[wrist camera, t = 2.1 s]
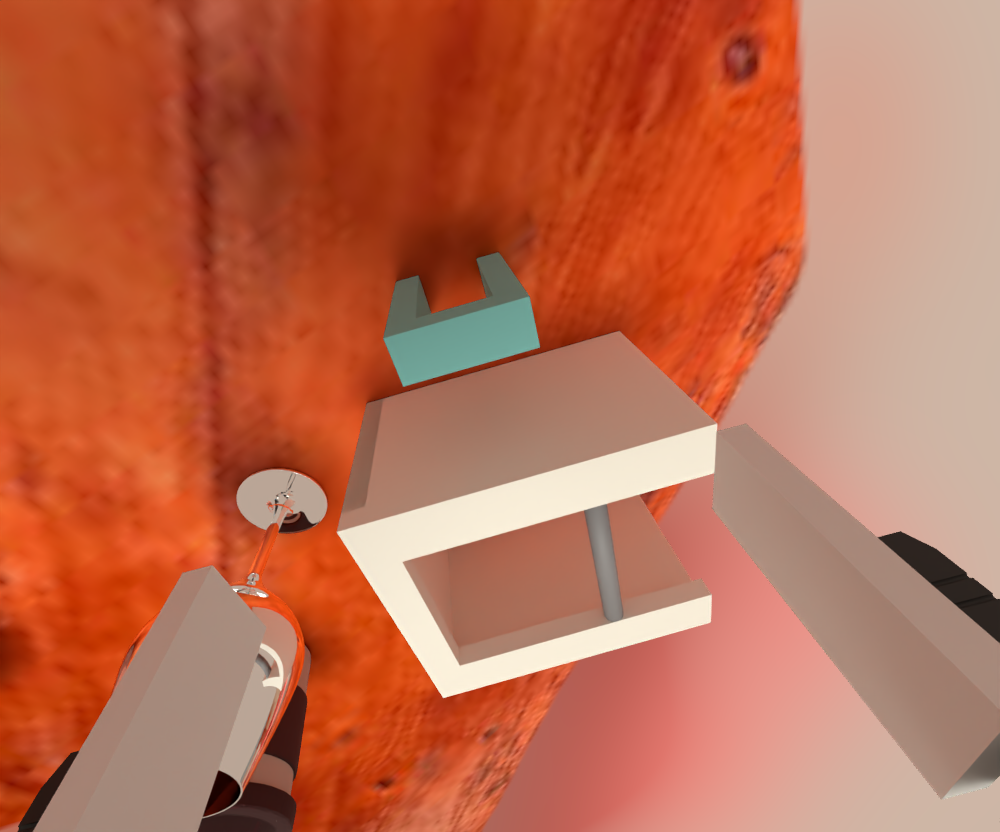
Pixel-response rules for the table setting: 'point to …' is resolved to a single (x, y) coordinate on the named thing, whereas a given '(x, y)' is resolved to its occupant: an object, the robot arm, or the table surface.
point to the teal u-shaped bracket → (459, 326)
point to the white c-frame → (527, 511)
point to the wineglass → (277, 509)
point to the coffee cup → (270, 776)
